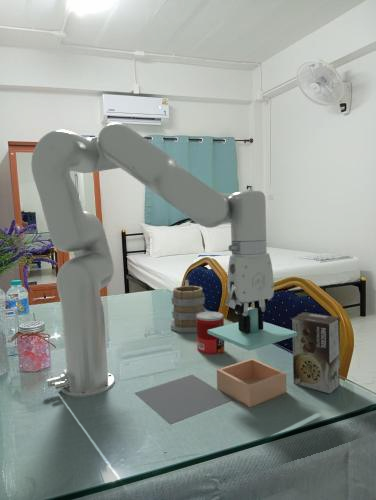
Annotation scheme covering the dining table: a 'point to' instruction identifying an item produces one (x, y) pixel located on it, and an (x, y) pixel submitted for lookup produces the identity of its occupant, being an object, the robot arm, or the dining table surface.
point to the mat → (182, 398)
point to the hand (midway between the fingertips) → (251, 329)
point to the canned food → (205, 340)
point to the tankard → (186, 307)
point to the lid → (252, 333)
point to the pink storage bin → (251, 382)
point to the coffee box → (316, 351)
